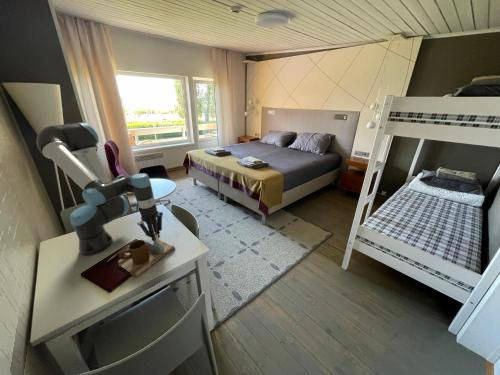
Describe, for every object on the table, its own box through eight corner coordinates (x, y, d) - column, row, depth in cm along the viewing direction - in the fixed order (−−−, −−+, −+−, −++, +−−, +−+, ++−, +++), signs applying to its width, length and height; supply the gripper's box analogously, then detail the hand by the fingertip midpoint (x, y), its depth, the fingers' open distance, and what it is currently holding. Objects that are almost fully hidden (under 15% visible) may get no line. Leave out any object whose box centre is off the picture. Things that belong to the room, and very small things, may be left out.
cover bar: (147, 246, 110) (145, 240, 109) (150, 244, 112) (148, 238, 110) (161, 254, 104) (159, 248, 103) (164, 252, 106) (163, 246, 104)
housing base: (118, 265, 100) (116, 261, 99) (157, 240, 117) (156, 236, 116) (136, 278, 93) (134, 274, 92) (175, 249, 110) (174, 245, 109)
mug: (124, 272, 95) (118, 257, 91) (121, 263, 100) (116, 248, 96) (151, 260, 101) (147, 245, 97) (147, 252, 107) (143, 237, 103)
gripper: (139, 213, 92) (150, 254, 102) (163, 201, 102) (172, 239, 112) (129, 209, 96) (141, 248, 106) (154, 198, 106) (163, 235, 116)
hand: (157, 244), depth 109 cm, fingers closed
